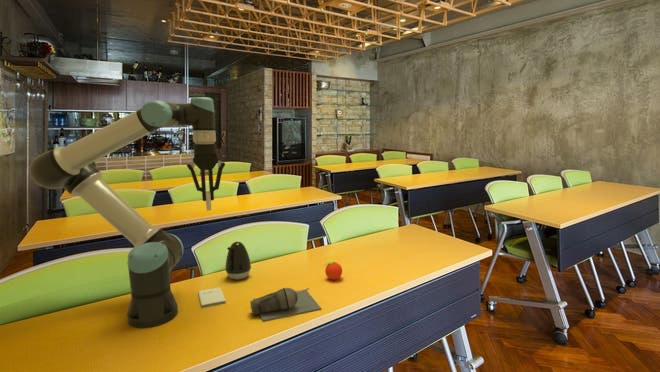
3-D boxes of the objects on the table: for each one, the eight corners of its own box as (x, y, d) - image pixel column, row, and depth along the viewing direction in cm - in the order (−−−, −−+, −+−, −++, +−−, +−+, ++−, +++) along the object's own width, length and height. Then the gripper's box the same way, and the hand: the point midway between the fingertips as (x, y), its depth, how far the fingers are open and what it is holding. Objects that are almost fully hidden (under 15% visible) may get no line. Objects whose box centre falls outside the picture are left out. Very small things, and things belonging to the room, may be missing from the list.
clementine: (322, 282, 148) (322, 265, 147) (323, 275, 155) (322, 259, 154) (342, 282, 148) (342, 265, 147) (342, 275, 155) (342, 259, 154)
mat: (262, 321, 119) (262, 320, 119) (253, 300, 134) (253, 299, 133) (321, 309, 127) (321, 308, 126) (305, 290, 141) (305, 289, 141)
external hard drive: (201, 309, 128) (198, 294, 140) (226, 304, 132) (220, 290, 143) (201, 305, 128) (198, 290, 139) (225, 300, 131) (220, 286, 143)
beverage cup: (253, 319, 119) (313, 302, 123) (248, 296, 121) (308, 280, 125) (254, 319, 125) (311, 303, 130) (249, 297, 127) (306, 282, 132)
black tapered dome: (220, 279, 152) (218, 243, 149) (237, 270, 161) (236, 236, 158) (239, 284, 147) (237, 247, 145) (256, 275, 156) (254, 240, 154)
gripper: (185, 144, 123) (189, 213, 127) (225, 143, 128) (229, 210, 132) (184, 143, 130) (189, 209, 134) (222, 142, 135) (226, 206, 139)
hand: (208, 209), depth 133 cm, fingers closed
